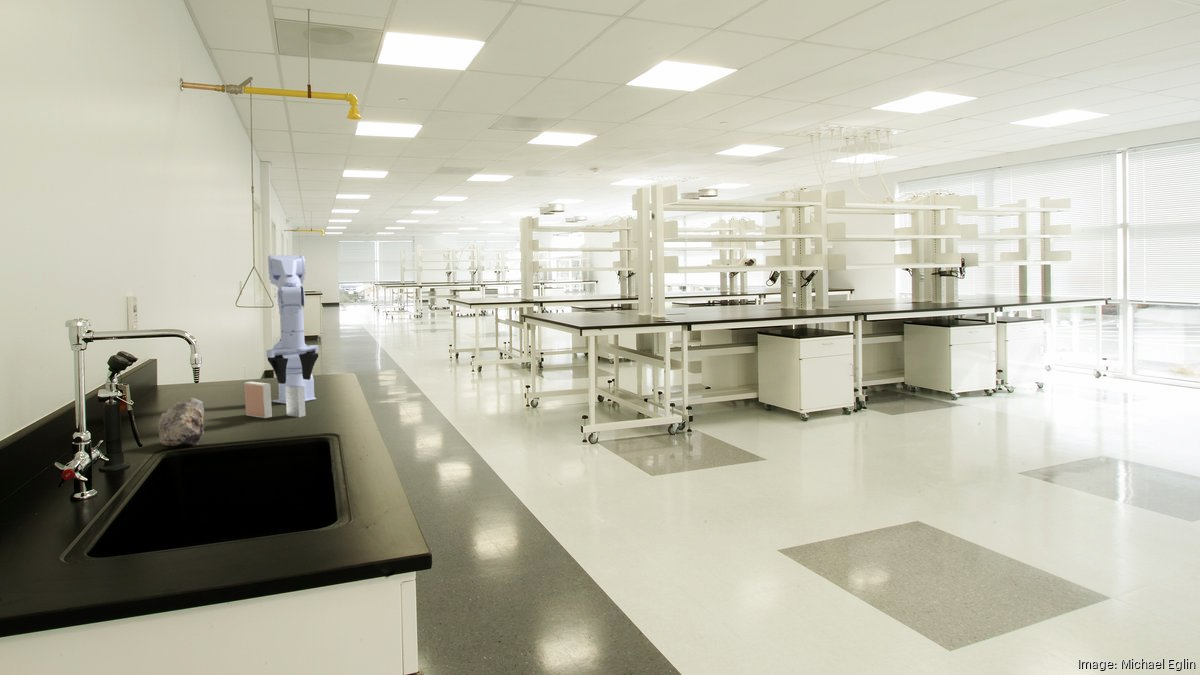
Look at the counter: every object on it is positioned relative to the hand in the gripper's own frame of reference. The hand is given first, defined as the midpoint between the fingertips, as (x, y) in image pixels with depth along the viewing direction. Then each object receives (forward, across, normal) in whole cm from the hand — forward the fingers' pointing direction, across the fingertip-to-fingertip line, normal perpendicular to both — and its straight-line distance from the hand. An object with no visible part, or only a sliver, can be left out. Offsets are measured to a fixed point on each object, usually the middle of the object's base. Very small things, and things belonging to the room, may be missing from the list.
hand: (294, 381), depth 175 cm
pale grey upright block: (+9, 0, 0) cm, 9 cm away
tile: (+9, -5, +8) cm, 14 cm away
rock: (+10, -32, -4) cm, 34 cm away
